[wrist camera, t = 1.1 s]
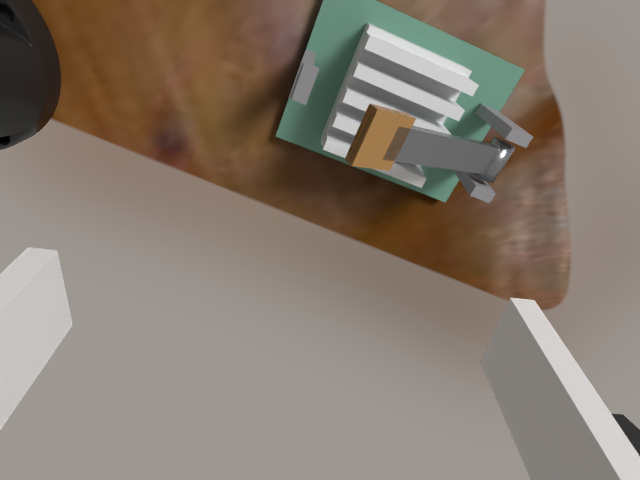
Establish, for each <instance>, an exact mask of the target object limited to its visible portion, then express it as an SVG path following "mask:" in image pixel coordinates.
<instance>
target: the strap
mask: <svg viewBox="0 0 640 480" xmlns="http://www.w3.org/2000/svg"><path fill="white" fill-rule="evenodd" d="M415 120H416V118H414V117H413V116H411V115H410V114H408V113H405V112H401V111H397V110H393V109H390V108H386V107H382V106H378V105H374V104H370V103H369V106H368V108H367V110H366V112H365V115H364V117H363V119H362V121H361V124H360V126H359V128H358V130H357V133H356V135H355V137H354V139H353V142H352V144H351V146H350V148H349V151H348V153H347V155H346V157H345V161H346V162H348V163H349V164H350V165H351V166H355V167H363V168H371V169H379V170H388V171H390V169H391V167H392V165H393V163H394V161H395V162H402V163H409V164H416V165H423V166H430V167H437V168H444V169H451V170H458V171H465V172H472V173H473V174H474V175H476V176H477V177H478V178H480V179H482V180H484V181H486V182H489V183H493V182H494V181H495V179H496V178H497V176H498V175H499V173H500V171H501V170H502V168H503V167H504V165H505V164H506V162H507V161H508V159H509V158H510V156H511V154H512V153H513V151H514V150H515V148H516V147H515V146H513V145H512V144H510V143H508V142H506V141H504V140H502V139H500V138H497V137H494V139H493V140H492V142H491V144H490V143H486V142H481V141H477V140H473V139H468V138H464V137H460V136H455V135H451V134H447V133H442V132H438V131H434V130H429V129H425V128H421V127H416V126H413V124H414V122H415Z"/></svg>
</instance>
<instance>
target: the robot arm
mask: <svg viewBox="0 0 640 480" xmlns="http://www.w3.org/2000/svg"><path fill="white" fill-rule="evenodd" d="M60 85H61V74H60V65H59V59H58V55H57V51H56V48H55V45H54V42H53V39H52V36H51V34H50V32H49V30H48V27H47V25H46V23H45V22H44V20H43V18H42V16H41V14H40V13H39V11H38V10H37V8H36V7H35V5H34V4H33V2H32V1H31V0H0V150H1V149H5V148H8V147H11V146H13V145H15V144H17V143H19V142H21V141H23V140H25V139H27V138H29V137H31V136H33V135H34V134H36V133H37V132H39V131H40V130H41V129H42V128H43V127H44V126H45V125H46V124H47V122H48V121H49V120H50V118H51V117H52V115H53V113H54V111H55V108H56V106H57V103H58V99H59V95H60ZM72 325H73V324H72V319H71V315H70V310H69V305H68V300H67V295H66V291H65V286H64V281H63V277H62V272H61V267H60V262H59V257H58V253H57V250H48V249H38V248H29V247H28V248H27V249H26V250H25V251H24V252H23V253H22V254H21V255H20V256H19V257H18V258H16V259H15V261H13V263H11V264H10V265H9V266H8V267H7V268H6V269H5V270H4V271H3V272H2V273H1V274H0V430H1V428H2V427H3V425H4V424H5V422H6V421H7V420H8V418H9V417H10V415H11V413H12V412H13V411H14V409H15V408H16V407H17V405H18V403H19V402H20V401H21V399H22V398H23V396H24V395H25V393H26V392H27V390H28V389H29V387H30V386H31V385H32V383H33V382H34V380H35V379H36V377H37V376H38V374H39V373H40V371H41V370H42V369H43V367H44V366H45V364H46V363H47V361H48V360H49V358H50V357H51V356H52V354H53V353H54V351H55V350H56V348H57V347H58V345H59V344H60V342H61V341H62V340H63V338H64V337H65V335H66V334H67V332H68V331H69V329H70V328H71V326H72ZM481 365H482V367H483V369H484V372H485V374H486V376H487V379H488V381H489V383H490V386H491V388H492V390H493V393H494V395H495V397H496V400H497V402H498V404H499V407H500V409H501V411H502V413H503V416H504V418H505V421H506V423H507V425H508V428H509V430H510V432H511V434H512V436H513V439H514V442H515V444H516V446H517V448H518V451H519V453H520V456H521V458H522V460H523V463H524V465H525V467H526V470H527V472H528V474H529V476H530V479H531V480H640V430H639V429H638V428H637V427H636V426H635V425H634V424H633V423H631V422H630V421H629V420H628V419H627V418H626V417H625V416H624V415H620V414H611V413H610V411H609V410H608V408H607V407H606V405H605V404H604V403H603V401H602V400H601V398H600V397H599V395H598V394H597V392H596V391H595V389H594V388H593V386H592V385H591V383H590V382H589V380H588V379H587V377H586V376H585V375H584V373H583V371H582V370H581V368H580V367H579V365H578V364H577V362H576V361H575V360H574V358H573V357H572V355H571V354H570V352H569V351H568V349H567V348H566V346H565V345H564V343H563V342H562V341H561V339H560V337H559V336H558V334H557V333H556V331H555V330H554V328H553V327H552V326H551V324H550V322H549V321H548V320H547V318H546V317H545V315H544V314H543V312H542V311H541V309H540V308H539V306H538V305H537V303H536V302H535V300H528V299H518V298H510V299H509V302H508V304H507V306H506V308H505V310H504V312H503V314H502V317H501V319H500V321H499V323H498V325H497V327H496V329H495V332H494V334H493V336H492V338H491V340H490V342H489V344H488V346H487V349H486V351H485V353H484V355H483V357H482V360H481Z"/></svg>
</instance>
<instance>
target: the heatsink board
mask: <svg viewBox="0 0 640 480" xmlns="http://www.w3.org/2000/svg"><path fill="white" fill-rule="evenodd" d="M524 71H525V69H522V68H520V67H518V66H516V65H514V64H512V63H509V62H507V61H505V60H503V59H501V58H499V57H497V56H494V55H492V54H490V53H488V52H486V51H484V50H481V49H479V48H477V47H475V46H473V45H471V44H468V43H466V42H464V41H462V40H460V39H458V38H456V37H453V36H451V35H449V34H447V33H445V32H443V31H440V30H438V29H436V28H434V27H432V26H430V25H428V24H425V23H423V22H421V21H419V20H417V19H415V18H412V17H410V16H408V15H406V14H404V13H402V12H400V11H397V10H395V9H393V8H391V7H389V6H387V5H384V4H382V3H380V2H378V1H376V0H323V2H322V5H321V8H320V11H319V14H318V16H317V19H316V22H315V25H314V28H313V31H312V34H311V36H310V39H309V42H308V45H307V48H306V51H305V53H304V56H303V58H302V61H301V64H300V67H299V70H298V73H297V75H296V78H295V81H294V84H293V87H292V90H291V93H290V95H289V99H288V102H287V105H286V108H285V111H284V113H283V116H282V119H281V122H280V125H279V128H278V131H277V133H276V137H278V138H281V139H283V140H286V141H289V142H291V143H294V144H296V145H299V146H301V147H304V148H307V149H309V150H312V151H314V152H317V153H319V154H322V155H325V156H327V157H330V158H332V159H335V160H338V161H340V162H343V163H345V164H348V165H350V164H349V163H348V162H346V161H345V157H346V155H347V153H348V151H349V148H350V146H351V144H352V142H353V139H354V137H355V135H356V133H357V130H358V128H359V126H360V124H361V121H362V119H363V117H364V115H365V112H366V110H367V108H368V106H369V103H370V104H374V105H378V106H382V107H386V108H390V109H393V110H397V111H401V112H405V113H408V114H410V115H411V116H413V117H414V118H416V120H415V122H414V124H413V126H416V127H421V128H425V129H429V130H434V131H438V132H442V133H447V134H451V135H455V136H460V137H464V138H468V139H473V140H477V141H481V142H482V141H483V139H484V137H485V136H486V134H487V132H488V131H489V129H490V127H492V128H493V129H494V130H496V131H497V132H498V133H499V134H500V135H501V136H503V137H504V138H505V139H506V140H509V141H511V142H513V143H516V144H518V145H520V146H523V147H525V148H526V147H527V146H528V144H529V143H530V141H531V140H532V138H533V136H531V135H530V134H529V133H527V132H526V131H525V130H523V129H522V128H520V127H519V126H518V125H516V124H515V123H514V122H512V121H511V120H510V119H508V118H507V117H505V116H504V115H503V114H501V113H500V111H501V109H502V107H503V106H504V104H505V102H506V101H507V99H508V97H509V96H510V94H511V92H512V91H513V89H514V87H515V86H516V84H517V82H518V81H519V79H520V77H521V76H522V74H523V72H524ZM350 166H351V165H350ZM353 167H355V166H353ZM356 168H358V169H361V170H363V171H366V172H368V173H371V174H374V175H376V176H379V177H381V178H384V179H386V180H389V181H392V182H394V183H397V184H399V185H402V186H404V187H407V188H410V189H412V190H415V191H417V192H420V193H422V194H425V195H428V196H430V197H433V198H435V199H438V200H440V201H443V202H446V201H447V199H448V197H449V196H450V194H451V192H452V191H453V189H454V187H455V186H456V184H457V182H458V181H459V180H460V181H461V183H462V184H463V186H464V187H465V189H466V190H467V192H468V193H469V195H470V196H472V197H475V198H477V199H480V200H482V201H485V202H487V203H490V202H491V200H492V199H493V197H494V196H495V194H496V193H495V192H494V191H493V190H492V188H491V187H490V186H489V185H488V183H487V182H486V181H484V180H482V179H480V178H478V177H477V176H476V175H474V174H473V173H472V172H465V171H458V170H451V169H444V168H437V167H430V166H423V165H416V164H409V163H402V162H395V161H394V163H393V165H392V167H391V169H390V171H388V170H379V169H371V168H363V167H356Z"/></svg>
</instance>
